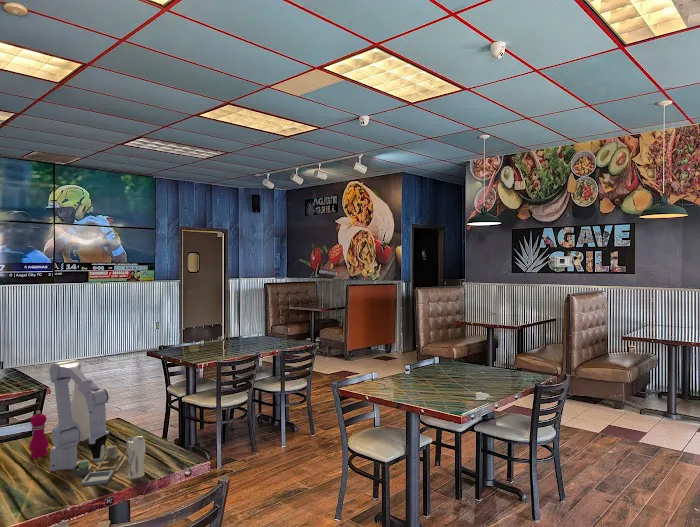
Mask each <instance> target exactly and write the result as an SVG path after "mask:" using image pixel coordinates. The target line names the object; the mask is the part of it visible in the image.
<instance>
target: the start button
mask: <svg viewBox="0 0 700 527" xmlns="http://www.w3.org/2000/svg"><path fill="white" fill-rule="evenodd" d="M80 461H81V462H80V463H79V464H80V466H81V469H88V468H89V467H88V465H89V459H83V460H80Z"/></svg>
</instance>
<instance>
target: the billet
mask: <svg viewBox="0 0 700 527" xmlns="http://www.w3.org/2000/svg"><path fill="white" fill-rule="evenodd" d="M104 458H105V448H104V444H102V446H101V453H100V458H97V459H93V458H92V463H97V464H99V463H101V462H102V461H104Z"/></svg>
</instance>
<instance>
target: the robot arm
mask: <svg viewBox="0 0 700 527" xmlns="http://www.w3.org/2000/svg"><path fill="white" fill-rule="evenodd" d="M49 377H50V383H51V384H54V391H55V392H54V393H55V402H56V408H57V409H56V410H57V419H58V420H57V421H58V423H57V424H56V425H55V426H54V427H53V428H52V429H51V443H52V447H51V449H50V453H49V466H50V467H49V468H50V469H49V472H56V471H58V470H61V471H62V470H71V469H72V470H73V469H76V467H77V466H78V465H79V464H80V462H81V461H82V460H78V444H79V442H78V441H80V439H81V436H82V433H81V430H80V427H79V423H77V422H75V421H73V420H72V412H71V403H70V401H71V396H70V389H69V388H70V387H69V383H70V381H71V380H72V381H73V382H74V383H75V382H76V383H77V384H78V385H79V386H78V389H79V391H80V392H81V393H82V394H83V395H84V396H85V397H86V404H87V407H88V411H89V425H90V433H89V439H88V440H86V444H87V446H88V447H89V450H90V452H91V456H92V460H93V459H97V458H100V453H101V446H102V444H104V449H106V448H105V447H106V442H107V439H108V437H109V434H110V430H107V420H106V419H107V414H106V413H107V411H106V409H107V408H106V404H107V403H108V402H109V399H110V398H109V392H108V391H107V389H106V388H102V387H99V386H98V385H97V384H96V383H95V382H94V381H93V379H91V378H87V377H86V376H85V374H84V373H83V371H82V368H81V363H80V361H79V360H78V359H76V358H74V359H71V360H66V361H60V362H53V363H52V364H51V366H50V367H49ZM71 427H72V428H71Z"/></svg>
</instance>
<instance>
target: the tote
mask: <svg viewBox="0 0 700 527" xmlns="http://www.w3.org/2000/svg"><path fill="white" fill-rule="evenodd" d="M114 473H115V472H114V470H112V471H101V472H94V471H92V472H89V473H88V475H87V476H84V478H83V480H82V481H81V482H80V483H81V486H84V487H85V486H93V485H103V484H104V485H105V484H108V483H109V481H110V480H111V478H112V477H113V475H115V474H114Z"/></svg>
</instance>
